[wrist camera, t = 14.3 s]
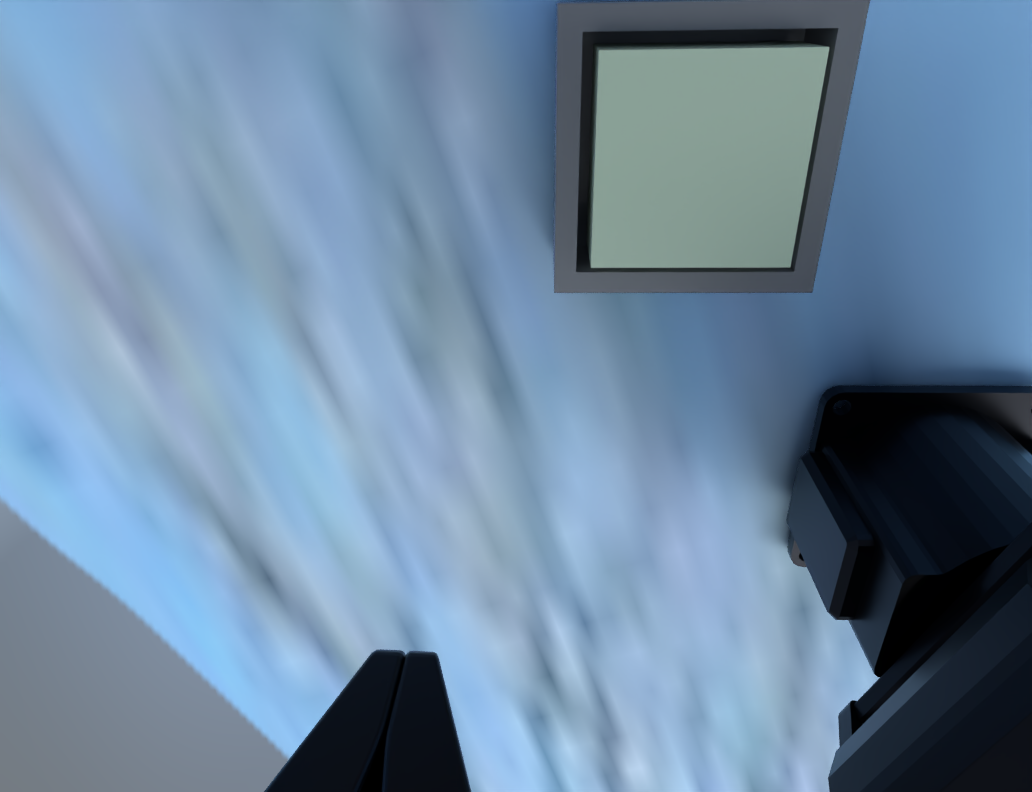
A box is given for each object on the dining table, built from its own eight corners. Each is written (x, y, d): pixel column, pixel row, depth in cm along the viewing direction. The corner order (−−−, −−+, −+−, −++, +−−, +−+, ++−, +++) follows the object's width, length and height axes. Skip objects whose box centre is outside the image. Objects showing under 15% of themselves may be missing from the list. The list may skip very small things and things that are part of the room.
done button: (797, 40, 16) (829, 47, 14) (766, 240, 18) (790, 267, 16) (593, 43, 16) (599, 49, 14) (586, 240, 18) (591, 267, 16)
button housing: (827, -3, 16) (870, -3, 14) (782, 258, 19) (812, 292, 17) (556, 1, 16) (557, 3, 14) (553, 259, 19) (554, 292, 17)
